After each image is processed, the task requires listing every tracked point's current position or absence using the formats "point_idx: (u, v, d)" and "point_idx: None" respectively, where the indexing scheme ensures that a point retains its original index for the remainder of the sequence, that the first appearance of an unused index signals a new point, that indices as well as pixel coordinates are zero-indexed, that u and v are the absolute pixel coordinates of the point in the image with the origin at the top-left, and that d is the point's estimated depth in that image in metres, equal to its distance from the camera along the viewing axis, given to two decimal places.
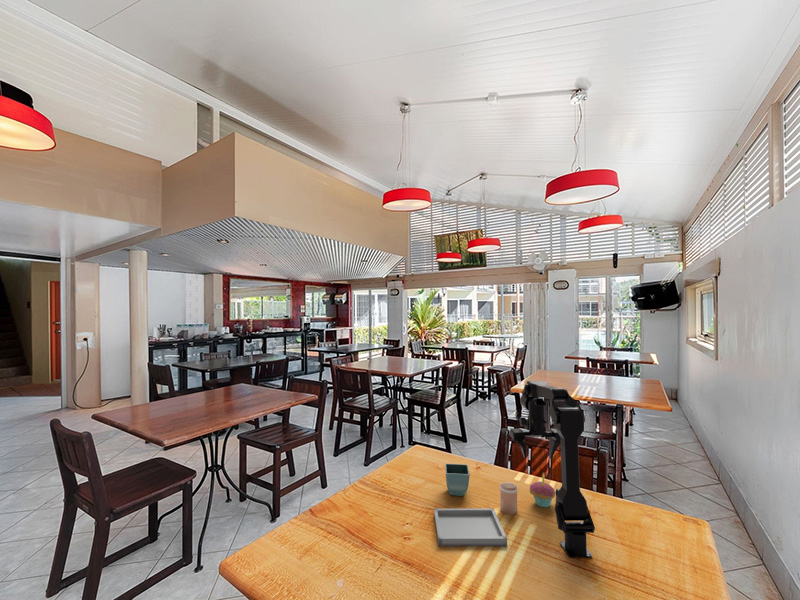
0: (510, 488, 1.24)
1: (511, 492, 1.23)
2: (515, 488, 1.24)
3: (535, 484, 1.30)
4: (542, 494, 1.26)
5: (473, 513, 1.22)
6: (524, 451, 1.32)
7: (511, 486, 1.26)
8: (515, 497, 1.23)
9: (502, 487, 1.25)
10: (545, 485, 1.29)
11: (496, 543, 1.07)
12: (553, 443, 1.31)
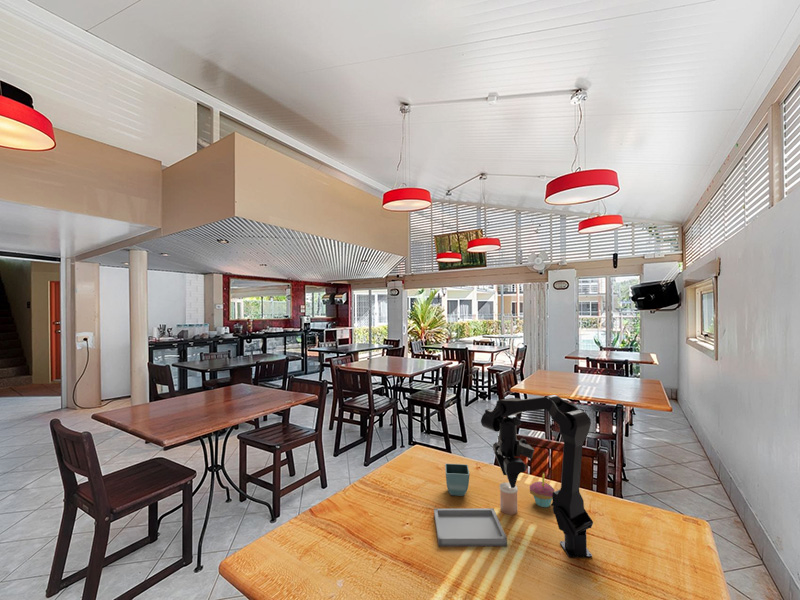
0: (510, 488, 1.24)
1: (511, 492, 1.23)
2: (515, 488, 1.24)
3: (535, 484, 1.30)
4: (542, 494, 1.26)
5: (473, 513, 1.22)
6: None
7: None
8: (515, 497, 1.23)
9: (502, 487, 1.25)
10: (545, 485, 1.29)
11: (496, 543, 1.07)
12: None
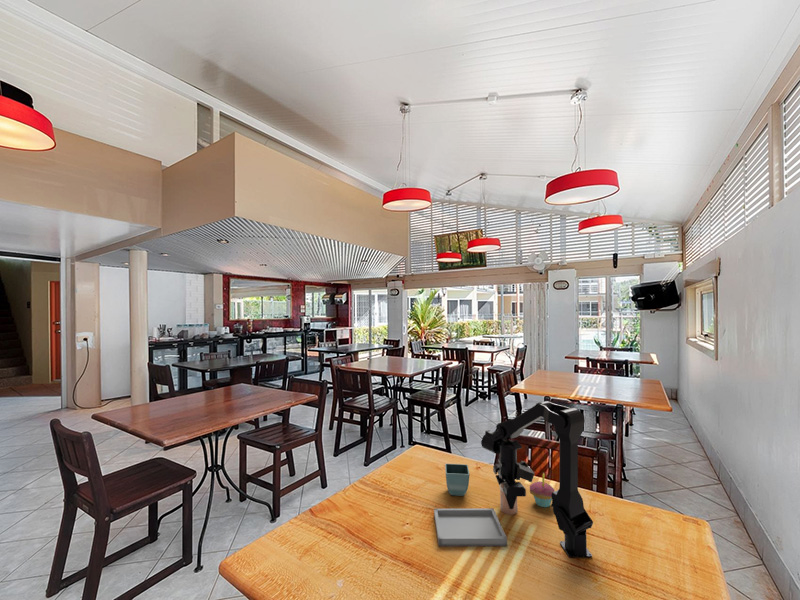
0: None
1: None
2: None
3: (535, 484, 1.30)
4: (542, 494, 1.26)
5: (473, 513, 1.22)
6: None
7: None
8: None
9: (502, 487, 1.25)
10: (545, 485, 1.29)
11: (496, 543, 1.07)
12: None
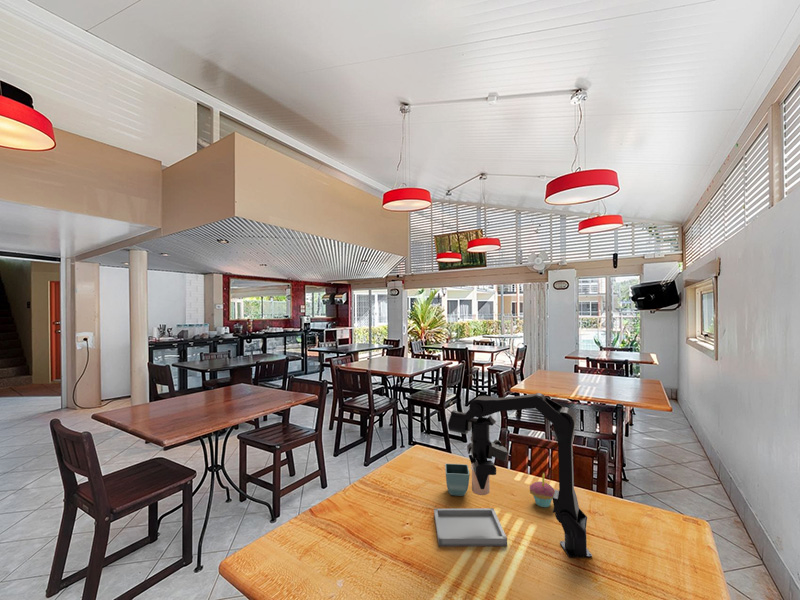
0: None
1: None
2: None
3: (535, 484, 1.30)
4: (542, 494, 1.26)
5: (473, 513, 1.22)
6: None
7: None
8: None
9: (473, 466, 1.18)
10: (545, 485, 1.29)
11: (496, 543, 1.07)
12: None
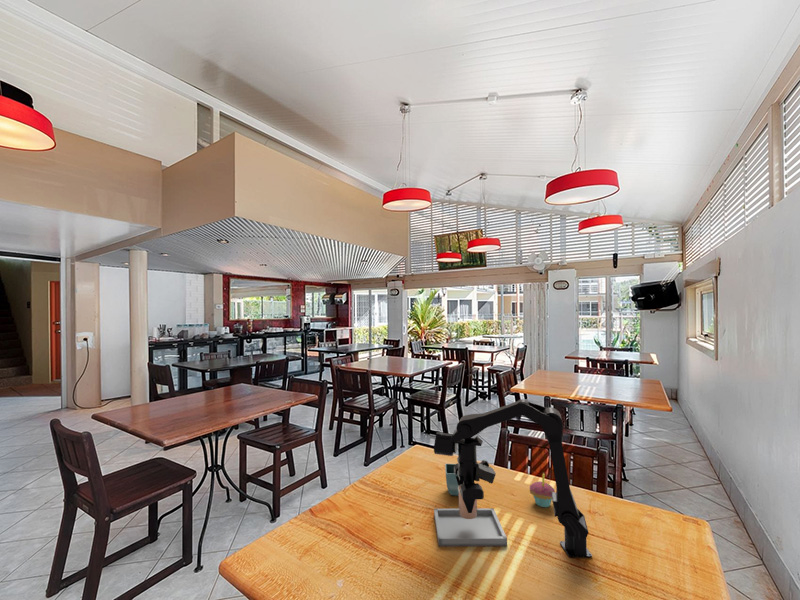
0: None
1: None
2: None
3: (535, 484, 1.30)
4: (542, 494, 1.26)
5: None
6: None
7: None
8: None
9: (460, 489, 1.14)
10: (545, 485, 1.29)
11: (496, 543, 1.07)
12: None
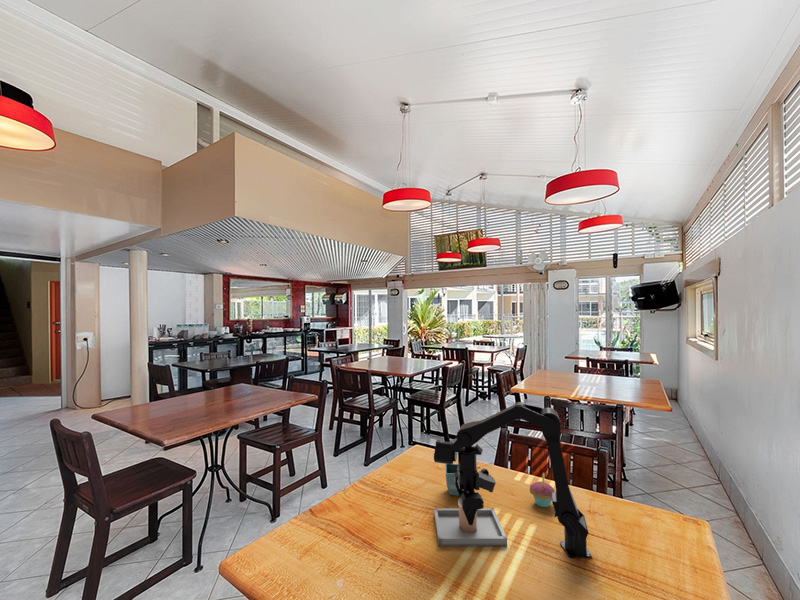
0: None
1: None
2: None
3: (535, 484, 1.30)
4: (542, 494, 1.26)
5: None
6: (460, 497, 1.20)
7: None
8: None
9: (460, 502, 1.14)
10: (545, 485, 1.29)
11: (496, 543, 1.07)
12: None
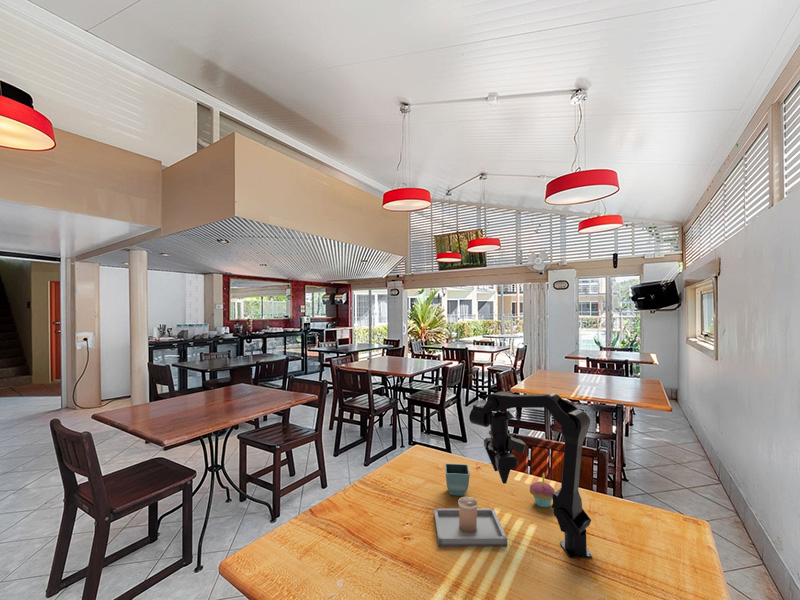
0: (469, 503, 1.14)
1: (470, 508, 1.12)
2: (475, 504, 1.14)
3: (535, 484, 1.30)
4: (542, 494, 1.26)
5: None
6: None
7: (470, 501, 1.15)
8: (474, 514, 1.13)
9: (461, 502, 1.14)
10: (545, 485, 1.29)
11: (496, 543, 1.07)
12: None
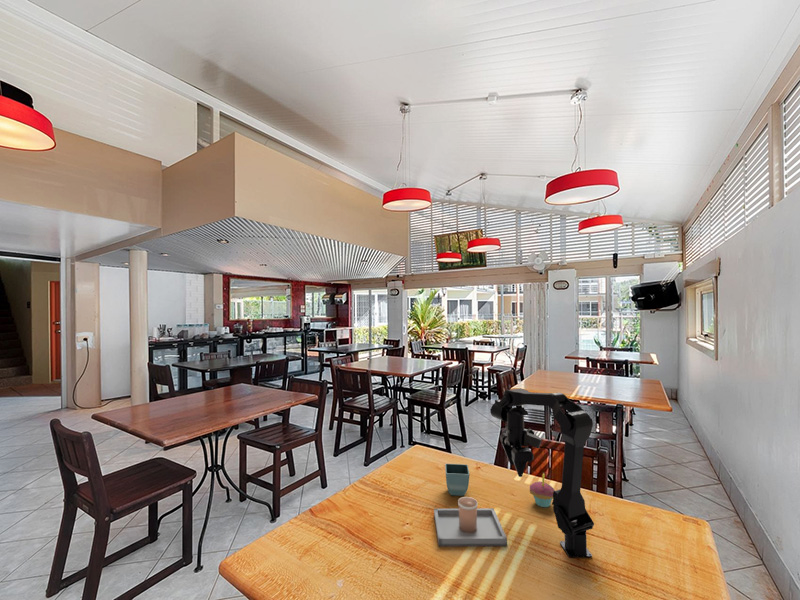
0: (469, 504, 1.13)
1: (469, 508, 1.12)
2: (474, 504, 1.13)
3: (535, 484, 1.30)
4: (542, 494, 1.26)
5: None
6: None
7: (470, 502, 1.15)
8: (474, 514, 1.12)
9: (460, 502, 1.14)
10: (545, 485, 1.29)
11: (496, 543, 1.07)
12: None
